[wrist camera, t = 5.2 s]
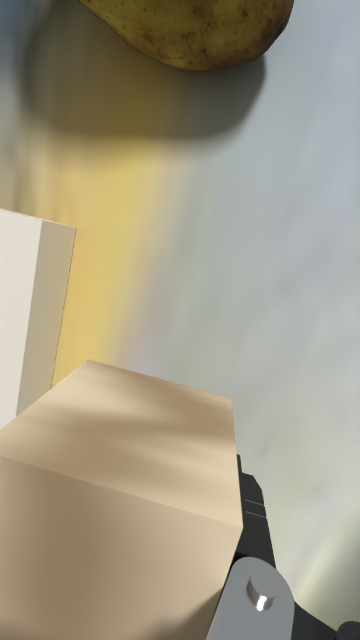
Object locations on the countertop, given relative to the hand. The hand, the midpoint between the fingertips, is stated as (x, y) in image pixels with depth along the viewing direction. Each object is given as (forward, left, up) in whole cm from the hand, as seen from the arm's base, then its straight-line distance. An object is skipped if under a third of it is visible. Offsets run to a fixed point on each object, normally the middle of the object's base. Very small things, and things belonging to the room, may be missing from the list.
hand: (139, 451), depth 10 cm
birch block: (0, 0, -1) cm, 1 cm away
